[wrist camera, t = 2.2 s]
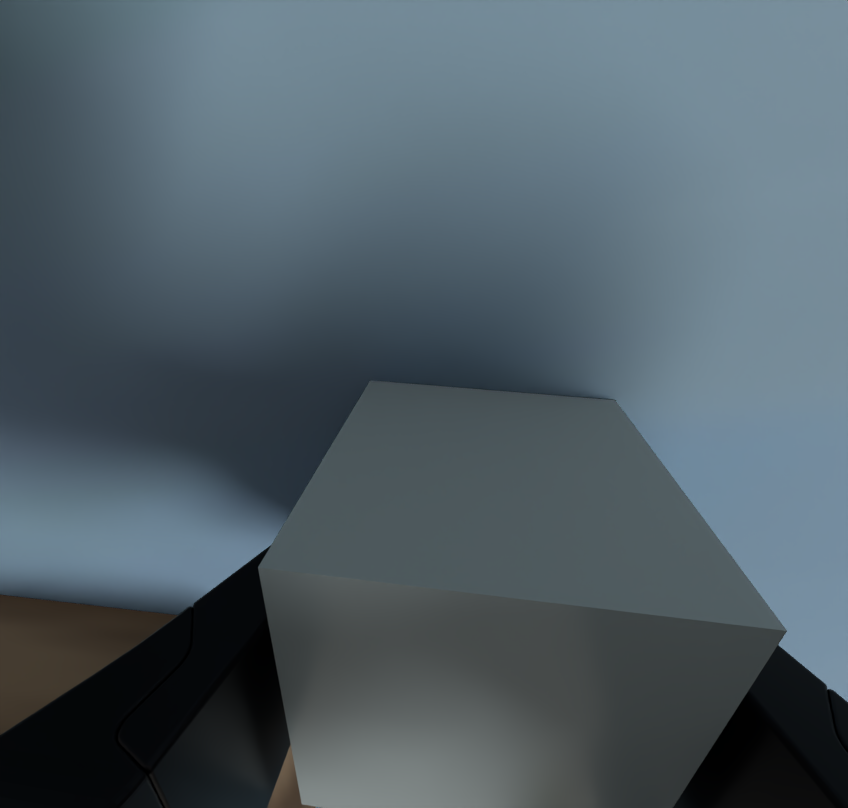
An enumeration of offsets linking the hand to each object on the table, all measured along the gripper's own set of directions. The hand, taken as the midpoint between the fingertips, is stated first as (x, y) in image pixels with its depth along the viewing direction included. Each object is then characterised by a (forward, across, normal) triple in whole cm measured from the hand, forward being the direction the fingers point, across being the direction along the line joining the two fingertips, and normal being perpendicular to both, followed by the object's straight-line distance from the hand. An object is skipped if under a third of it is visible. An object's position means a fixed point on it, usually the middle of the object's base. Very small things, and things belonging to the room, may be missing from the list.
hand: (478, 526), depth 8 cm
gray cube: (+1, 0, 0) cm, 1 cm away
